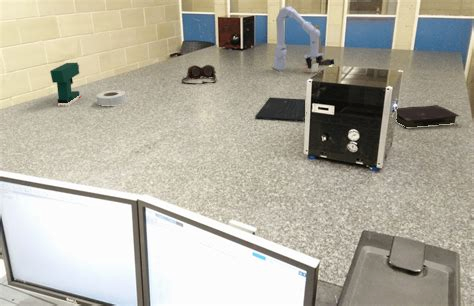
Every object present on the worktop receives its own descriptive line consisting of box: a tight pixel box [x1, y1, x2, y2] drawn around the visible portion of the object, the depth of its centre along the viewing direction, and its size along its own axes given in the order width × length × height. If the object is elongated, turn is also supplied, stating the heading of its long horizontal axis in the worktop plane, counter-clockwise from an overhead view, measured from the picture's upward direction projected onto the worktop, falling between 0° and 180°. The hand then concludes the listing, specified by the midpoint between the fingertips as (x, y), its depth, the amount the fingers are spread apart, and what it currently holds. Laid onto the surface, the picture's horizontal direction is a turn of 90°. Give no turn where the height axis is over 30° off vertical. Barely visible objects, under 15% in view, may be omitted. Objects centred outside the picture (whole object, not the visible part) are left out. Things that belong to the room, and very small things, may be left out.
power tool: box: [49, 62, 81, 104], centre depth 236 cm, size 32×7×20 cm, turn 178°
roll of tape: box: [96, 89, 127, 105], centre depth 228 cm, size 16×16×6 cm
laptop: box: [254, 97, 306, 122], centre depth 202 cm, size 33×38×19 cm
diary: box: [396, 104, 460, 129], centre depth 187 cm, size 19×25×5 cm
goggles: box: [181, 64, 217, 85], centre depth 269 cm, size 24×24×10 cm
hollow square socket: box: [308, 61, 320, 74], centre depth 279 cm, size 5×5×6 cm
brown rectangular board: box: [296, 66, 321, 75], centre depth 284 cm, size 18×12×4 cm, turn 23°
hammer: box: [305, 25, 335, 67], centre depth 295 cm, size 20×5×30 cm, turn 79°
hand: (313, 67), depth 279 cm, fingers open, 6 cm apart
